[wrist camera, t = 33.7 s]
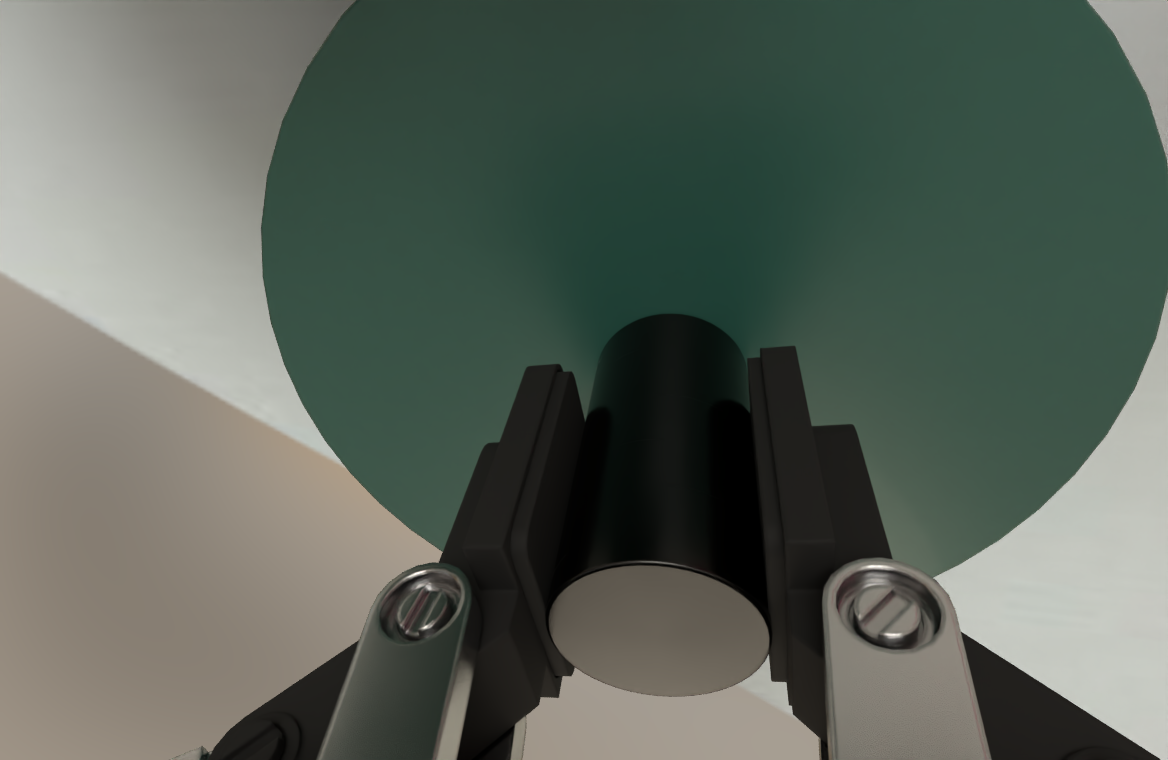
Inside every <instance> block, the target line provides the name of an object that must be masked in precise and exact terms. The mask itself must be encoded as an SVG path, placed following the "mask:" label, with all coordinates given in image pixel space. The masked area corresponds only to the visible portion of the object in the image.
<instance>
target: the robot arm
mask: <svg viewBox="0 0 1168 760" xmlns="http://www.w3.org/2000/svg"><path fill="white" fill-rule="evenodd" d="M747 366H748V384H749V401H750V417H751V428H752V439H753V449H754V460H755V471H756V482H757V493H758V503H759V514H760V525H761V536H762V547H763V557H764V568H765V579H766V590H767V600H768V611H769V614H770V617H771V622H772V631H773V639H772V645H771V649H770V652H769V659H770V670H771V680H772V682H787V691H788V701H789V705H791V706H792V710H793V715H795V716H796V717H797V718H798V719H799V720H800V721H801V722H802V723H804V724H805V725H806V726H807V727H808V728H809V729H810V730H811V731H813V732H814V733H815V734H816V735H817V736H818V737H819V755H820V760H1160V759H1159V758H1158V757H1156V756H1154V755H1153V754H1151V753H1150V752H1148V751H1147V750H1145V749H1143V748H1142V747H1140V746H1139V745H1137V744H1136V743H1134V742H1133V741H1131V740H1129V739H1128V738H1126V737H1125V736H1123V735H1122V734H1120V733H1118V732H1117V731H1115V730H1114V729H1112V728H1111V727H1109V726H1108V725H1106V724H1104V723H1103V722H1101V721H1100V720H1098V719H1097V718H1095V717H1093V716H1092V715H1090V714H1089V713H1087V712H1086V711H1084V710H1083V709H1081V708H1079V707H1078V706H1076V705H1075V704H1073V703H1072V702H1070V701H1068V700H1067V699H1065V698H1064V697H1062V696H1061V695H1059V694H1058V693H1056V692H1054V691H1053V690H1051V689H1050V688H1048V687H1047V686H1045V685H1043V684H1042V683H1040V682H1039V681H1037V680H1036V679H1034V678H1033V677H1031V676H1029V675H1028V674H1026V673H1025V672H1023V671H1022V670H1020V669H1018V668H1017V667H1015V666H1014V665H1012V664H1011V663H1009V662H1008V661H1006V660H1004V659H1003V658H1001V657H1000V656H998V655H997V654H995V653H993V652H992V651H990V650H989V649H987V648H986V647H984V646H983V645H981V644H979V643H978V642H976V641H975V640H973V639H972V638H970V637H968V636H967V635H965V634H964V633H962V632H961V631H960V627H959V623H958V618H957V614H956V611H955V608H954V606H953V604H952V602H951V599H950V597H949V595H948V594H947V592H946V591H945V590H944V589H943V588H942V587H941V586H940V584H939V583H938V582H937V581H936V580H935V579H933V578H932V577H931V576H929V575H928V574H926V573H925V572H923V571H922V570H920V569H919V568H917V567H914V566H912V565H909V564H906V563H904V562H901V561H898V560H893V558H892V555H891V551H890V547H889V544H888V540H887V537H886V533H885V530H884V526H883V523H882V519H881V516H880V512H879V509H878V505H877V501H876V498H875V494H874V491H873V487H872V484H871V480H870V477H869V473H868V470H867V466H866V463H865V459H864V455H863V452H862V448H861V445H860V441H859V438H858V434H857V431H856V429H855V426H854V425H853V424H842V425H823V426H812V425H811V420H810V415H809V410H808V405H807V400H806V395H805V390H804V385H803V380H802V375H801V370H800V365H799V361H798V356H797V351H796V347H795V346H782V347H769V348H760V357H755V358H747ZM584 426H585V418H584V414H583V410H582V406H581V401H580V397H579V393H578V389H577V384H576V380H575V376H574V374H573V372H572V371H566V372H564V371H563V368H562V367H561V365H560V364H548V365H535V366H528V367H527V368H526V369H525V372H524V375H523V377H522V380H521V383H520V386H519V389H518V391H517V394H516V397H515V400H514V403H513V405H512V408H511V411H510V414H509V417H508V419H507V422H506V425H505V428H504V431H503V434H502V436H501V439H500V442H494V443H487V444H486V445H485V446H484V447H483V449H482V451H481V453H480V456H479V459H478V461H477V464H476V466H475V469H474V472H473V474H472V477H471V479H470V482H469V485H468V487H467V490H466V493H465V495H464V498H463V500H462V503H461V506H460V508H459V511H458V513H457V516H456V519H455V521H454V524H453V527H452V529H451V532H450V534H449V537H448V540H447V542H446V545H445V547H444V550H443V553H442V555H441V558H440V561H439V563H428V564H423V565H418V566H416V567H413V568H411V569H409V570H407V571H405V572H402V573H401V574H400V575H398V576H397V577H396V578H394V579H393V580H392V581H390V582H389V583H388V584H387V585H386V586H385V587H384V588H383V590H382V591H381V592H380V593H379V594H378V596H377V597H376V599H375V601H374V603H373V605H372V607H371V609H370V612H369V614H368V617H367V620H366V623H365V626H364V628H363V631H362V634H361V637H360V639H359V641H357V642H355V643H354V644H353V645H351V646H350V647H348V648H347V649H345V650H344V651H342V652H341V653H339V654H338V655H336V656H335V657H333V658H332V659H330V660H329V661H327V662H326V663H324V664H323V665H321V666H320V667H319V668H317V669H315V670H314V671H313V672H311V673H310V674H308V675H307V676H305V677H304V678H302V679H301V680H299V681H298V682H296V683H295V684H293V685H292V686H290V687H289V688H287V689H286V690H284V691H283V692H282V693H280V694H279V695H277V696H276V697H274V698H273V699H271V700H270V701H268V702H267V703H265V704H264V705H262V706H261V707H259V708H258V709H256V710H255V711H253V712H252V713H250V714H249V715H247V716H246V717H245V718H243V719H242V720H241V721H240V722H238V723H237V724H236V725H235V726H234V727H232V728H231V729H230V730H229V731H228V732H227V733H226V734H225V736H224V737H223V738H222V739H221V740H220V742H219V743H218V744H217V745H216V746H215V748H214V750H213V751H211V752H208V751H207V750H206V749H205V748H204V747H203V746H201V747H199V748H196V749H194V750H192V751H189V752H187V753H184V754H182V755H179V756H177V757H175V758H172V759H170V760H522V758H523V750H524V742H525V734H526V715H527V714H528V713H530V712H531V711H532V710H533V709H535V708H536V707H537V706H538V705H539V702H540V697H554V698H558V697H559V693H560V687H561V681H562V676H572V674H573V672H574V668H575V667H574V666H573V665H572V664H571V663H569V662H568V661H567V660H566V659H565V658H564V657H563V656H562V655H561V654H560V653H559V652H558V650H557V649H556V648H555V646H554V645H553V643H552V641H551V639H550V637H549V635H548V631H547V628H546V624H545V612H546V606H547V601H548V597H549V592H550V587H551V582H552V578H553V573H554V568H555V563H556V559H557V554H558V549H559V545H560V540H561V535H562V530H563V526H564V521H565V516H566V511H567V507H568V502H569V497H570V492H571V488H572V483H573V478H574V473H575V469H576V464H577V459H578V454H579V450H580V445H581V440H582V436H583V431H584Z"/></svg>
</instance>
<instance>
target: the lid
mask: <svg viewBox="0 0 1168 760" xmlns="http://www.w3.org/2000/svg"><path fill="white" fill-rule="evenodd" d="M261 236H262V267H263V280H264V286H265V292H266V297H267V303H268V309H269V314H270V320H271V324H272V327H273V330H274V334H275V337H276V340H277V343H278V346H279V349H280V352H281V356H282V359H283V362H284V365H285V367H286V369H287V372H288V374H289V376H290V378H291V380H292V382H293V384H294V387H295V389H296V391H297V393H298V395H299V397H300V400H301V402H302V404H303V406H304V407H305V409H306V411H307V412H308V414H309V415H310V417H311V419H312V420H313V422H314V423H315V425H316V427H317V428H318V430H319V432H320V433H321V435H322V436H323V438H324V440H325V441H326V442H327V444H328V445H329V446H330V448H331V449H332V450H333V451H334V453H335V454H336V455H337V457H338V458H339V459H340V460H341V462H342V463H343V464H344V465H345V467H346V468H347V469H348V471H349V472H350V473H351V474H352V475H353V476H354V477H355V478H356V479H357V480H358V481H359V483H360V484H361V485H362V486H363V487H364V488H365V489H366V490H367V491H368V492H369V493H370V494H371V495H372V496H373V497H374V498H375V499H376V500H377V501H378V502H379V503H380V504H381V505H382V506H383V507H385V508H386V509H387V510H388V511H389V512H391V513H392V514H393V515H394V516H395V517H396V518H398V519H399V520H400V521H401V522H402V523H404V524H405V525H406V526H407V527H408V528H409V529H411V530H412V531H414V532H415V533H417V534H418V535H419V536H421V537H422V538H424V539H425V540H426V541H428V542H429V543H431V544H432V545H434V546H435V547H437V548H438V549H439V550H441V551H442V552H443V550H444V547H445V545H446V542H447V540H448V537H449V534H450V532H451V529H452V527H453V524H454V521H455V519H456V516H457V513H458V511H459V508H460V506H461V503H462V500H463V498H464V495H465V493H466V490H467V487H468V485H469V482H470V479H471V477H472V474H473V472H474V469H475V466H476V464H477V461H478V459H479V456H480V453H481V451H482V449H483V447H484V446H485V445H486V444H487V443H494V442H500V439H501V436H502V434H503V431H504V428H505V425H506V422H507V419H508V417H509V414H510V411H511V408H512V405H513V403H514V400H515V397H516V394H517V391H518V389H519V386H520V383H521V380H522V377H523V375H524V372H525V369H526V368H527V367H528V366H535V365H548V364H560V365H561V367H562V368H563V371H564V372H566V371H572V372H573V374H574V376H575V380H576V384H577V389H578V393H579V397H580V401H581V406H582V410H583V414H584V418H585V426H584V431H583V436H582V440H581V445H580V450H579V454H578V459H577V464H576V469H575V473H574V478H573V483H572V488H571V492H570V497H569V502H568V507H567V511H566V516H565V521H564V526H563V530H562V535H561V540H560V545H559V549H558V554H557V559H556V563H555V568H554V573H553V578H552V582H551V587H550V592H549V597H548V601H547V606H546V612H545V624H546V628H547V631H548V635H549V637H550V639H551V641H552V643H553V645H554V646H555V648H556V649H557V650H558V652H559V653H560V654H561V655H562V656H563V657H564V658H565V659H566V660H567V661H568V662H569V663H571V664H572V665H573V666H574V667H576V668H577V669H579V670H580V671H582V672H583V673H585V674H587V675H588V676H590V677H592V678H594V679H597V680H598V681H601V682H603V683H605V684H608V685H611V686H614V687H617V688H620V689H623V690H627V691H631V692H636V693H641V694H647V695H655V696H669V697H672V696H694V695H701V694H707V693H712V692H715V691H720V690H723V689H725V688H728V687H731V686H733V685H735V684H738V683H740V682H742V681H743V680H745V679H746V678H748V677H750V676H751V675H752V674H753V673H754V672H756V671H757V670H758V669H759V668H760V667H761V665H762V664H763V663H764V662H765V660H766V658H767V656H768V654H769V652H770V649H771V645H772V639H773V631H772V622H771V617H770V614H769V611H768V600H767V590H766V579H765V568H764V557H763V547H762V536H761V525H760V514H759V503H758V493H757V482H756V471H755V460H754V449H753V439H752V428H751V417H750V401H749V384H748V366H747V358H755V357H760V348H769V347H782V346H795V347H796V351H797V356H798V361H799V365H800V370H801V375H802V380H803V385H804V390H805V395H806V400H807V405H808V410H809V415H810V420H811V425H812V426H823V425H842V424H853V425H854V426H855V429H856V431H857V434H858V438H859V441H860V445H861V448H862V452H863V455H864V459H865V463H866V466H867V470H868V473H869V477H870V480H871V484H872V487H873V491H874V494H875V498H876V501H877V505H878V509H879V512H880V516H881V519H882V523H883V526H884V530H885V533H886V537H887V540H888V544H889V547H890V551H891V555H892V558H893V560H898V561H901V562H904V563H906V564H909V565H912V566H914V567H917V568H919V569H920V570H922V571H923V572H925V573H926V574H928V575H929V576H931V577H932V578H933V577H935V576H937V575H939V574H941V573H943V572H945V571H947V570H949V569H951V568H953V567H955V566H957V565H959V564H961V563H963V562H964V561H966V560H968V559H969V558H971V557H972V556H974V555H976V554H977V553H979V552H981V551H982V550H984V549H985V548H987V547H989V546H990V545H992V544H993V543H995V542H997V541H998V540H1000V539H1001V538H1003V537H1004V536H1005V535H1006V534H1008V533H1009V532H1010V531H1012V530H1013V529H1014V528H1015V527H1017V526H1018V525H1019V524H1021V523H1022V522H1023V521H1025V520H1026V519H1027V518H1028V517H1030V516H1031V515H1032V514H1034V513H1035V512H1036V511H1037V510H1039V509H1040V508H1041V507H1042V506H1043V505H1044V504H1045V503H1046V502H1047V501H1048V500H1049V499H1050V498H1051V497H1052V496H1053V495H1054V494H1055V493H1056V492H1057V491H1058V490H1059V489H1060V488H1061V487H1062V486H1063V485H1064V484H1066V483H1067V482H1068V481H1069V480H1070V479H1071V478H1072V477H1073V476H1074V475H1075V474H1076V472H1077V471H1078V470H1079V469H1080V467H1081V466H1082V465H1083V464H1084V462H1085V461H1086V460H1087V459H1088V457H1089V456H1090V455H1091V454H1092V452H1093V451H1094V450H1095V449H1096V447H1097V446H1098V445H1099V444H1100V443H1101V441H1102V440H1103V439H1104V438H1105V436H1106V435H1107V434H1108V432H1109V430H1110V429H1111V427H1112V425H1113V424H1114V422H1115V420H1116V419H1117V417H1118V415H1119V414H1120V412H1121V410H1122V409H1123V407H1124V406H1125V404H1126V402H1127V401H1128V399H1129V397H1130V396H1131V394H1132V392H1133V391H1134V389H1135V387H1136V384H1137V382H1138V380H1139V377H1140V375H1141V372H1142V370H1143V368H1144V365H1145V363H1146V361H1147V358H1148V356H1149V354H1150V351H1151V349H1152V346H1153V344H1154V342H1155V339H1156V336H1157V332H1158V328H1159V324H1160V320H1161V316H1162V312H1163V308H1164V303H1165V299H1166V295H1167V291H1168V166H1167V158H1166V155H1165V152H1164V148H1163V145H1162V142H1161V139H1160V135H1159V132H1158V129H1157V126H1156V123H1155V119H1154V116H1153V113H1152V110H1151V106H1150V103H1149V100H1148V97H1147V94H1146V92H1145V90H1144V89H1143V87H1142V85H1141V83H1140V81H1139V79H1138V77H1137V76H1136V74H1135V72H1134V70H1133V68H1132V66H1131V64H1130V63H1129V61H1128V59H1127V57H1126V55H1125V53H1124V51H1123V50H1122V48H1121V46H1120V44H1119V42H1118V40H1117V39H1116V37H1115V35H1114V33H1113V32H1112V31H1111V29H1110V28H1109V27H1108V26H1107V24H1106V23H1105V22H1104V21H1103V20H1102V18H1101V17H1100V16H1099V15H1098V13H1097V12H1096V11H1095V10H1094V9H1093V7H1092V6H1091V5H1090V4H1089V3H1088V1H1087V0H356V1H355V2H354V3H353V4H352V5H351V6H350V7H349V8H348V9H347V10H346V11H345V12H344V14H343V15H342V16H341V18H340V19H339V21H338V22H337V24H336V25H335V27H334V28H333V29H332V31H331V32H330V34H329V35H328V37H327V38H326V40H325V41H324V43H323V44H322V46H321V47H320V49H319V50H318V52H317V53H316V55H315V56H314V58H313V59H312V61H311V62H310V64H309V65H308V67H307V69H306V71H305V73H304V75H303V77H302V79H301V82H300V84H299V86H298V88H297V90H296V92H295V95H294V97H293V99H292V101H291V103H290V105H289V108H288V110H287V112H286V114H285V116H284V119H283V121H282V124H281V128H280V131H279V135H278V139H277V142H276V146H275V149H274V153H273V156H272V160H271V164H270V167H269V171H268V175H267V182H266V191H265V199H264V208H263V216H262V225H261Z"/></svg>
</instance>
